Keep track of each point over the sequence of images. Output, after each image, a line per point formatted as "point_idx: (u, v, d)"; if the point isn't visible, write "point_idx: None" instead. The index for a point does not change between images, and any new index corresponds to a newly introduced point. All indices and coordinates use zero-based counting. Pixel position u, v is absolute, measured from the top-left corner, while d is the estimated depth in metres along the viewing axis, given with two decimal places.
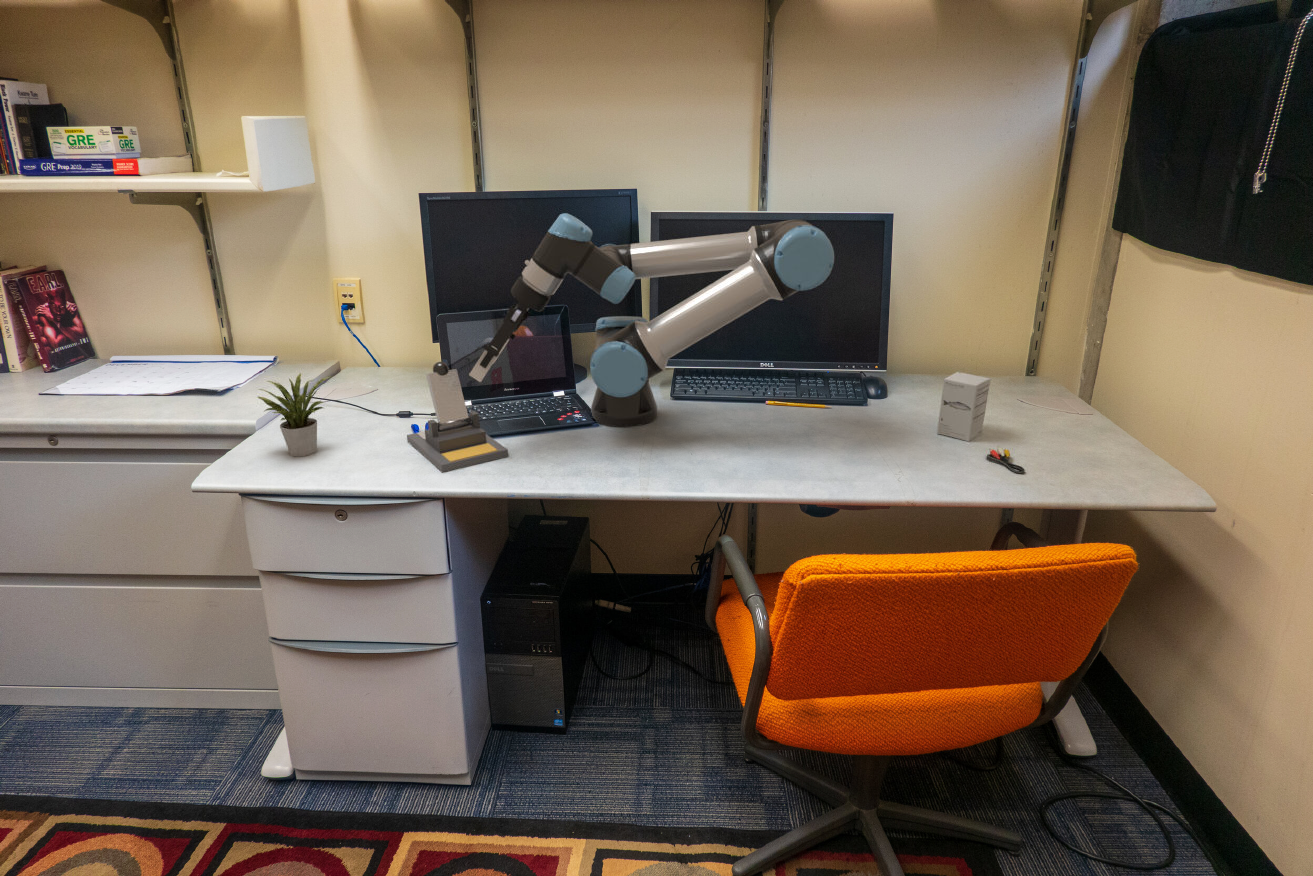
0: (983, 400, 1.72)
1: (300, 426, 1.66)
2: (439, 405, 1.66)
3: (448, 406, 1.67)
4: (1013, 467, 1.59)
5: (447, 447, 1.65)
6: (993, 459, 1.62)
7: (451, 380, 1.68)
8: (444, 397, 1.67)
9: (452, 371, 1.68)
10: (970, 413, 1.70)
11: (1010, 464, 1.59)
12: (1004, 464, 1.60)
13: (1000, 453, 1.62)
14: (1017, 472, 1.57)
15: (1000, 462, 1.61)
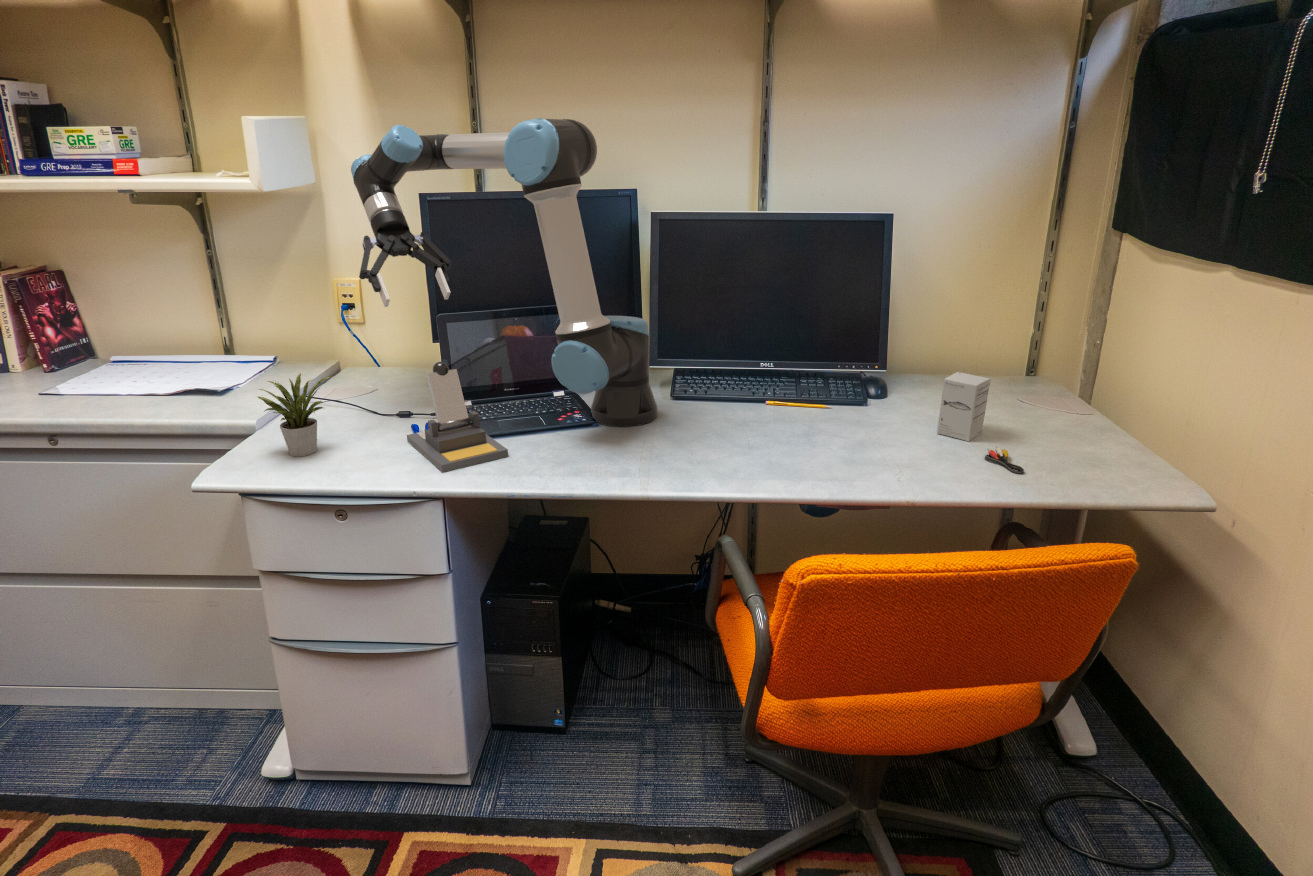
0: (983, 400, 1.72)
1: (300, 426, 1.66)
2: (439, 405, 1.66)
3: (448, 406, 1.67)
4: (1012, 467, 1.59)
5: (447, 447, 1.65)
6: (992, 459, 1.62)
7: (451, 380, 1.68)
8: (444, 397, 1.67)
9: (452, 371, 1.68)
10: (970, 413, 1.70)
11: (1009, 464, 1.59)
12: (1003, 464, 1.60)
13: (999, 453, 1.62)
14: (1016, 472, 1.57)
15: (999, 462, 1.61)
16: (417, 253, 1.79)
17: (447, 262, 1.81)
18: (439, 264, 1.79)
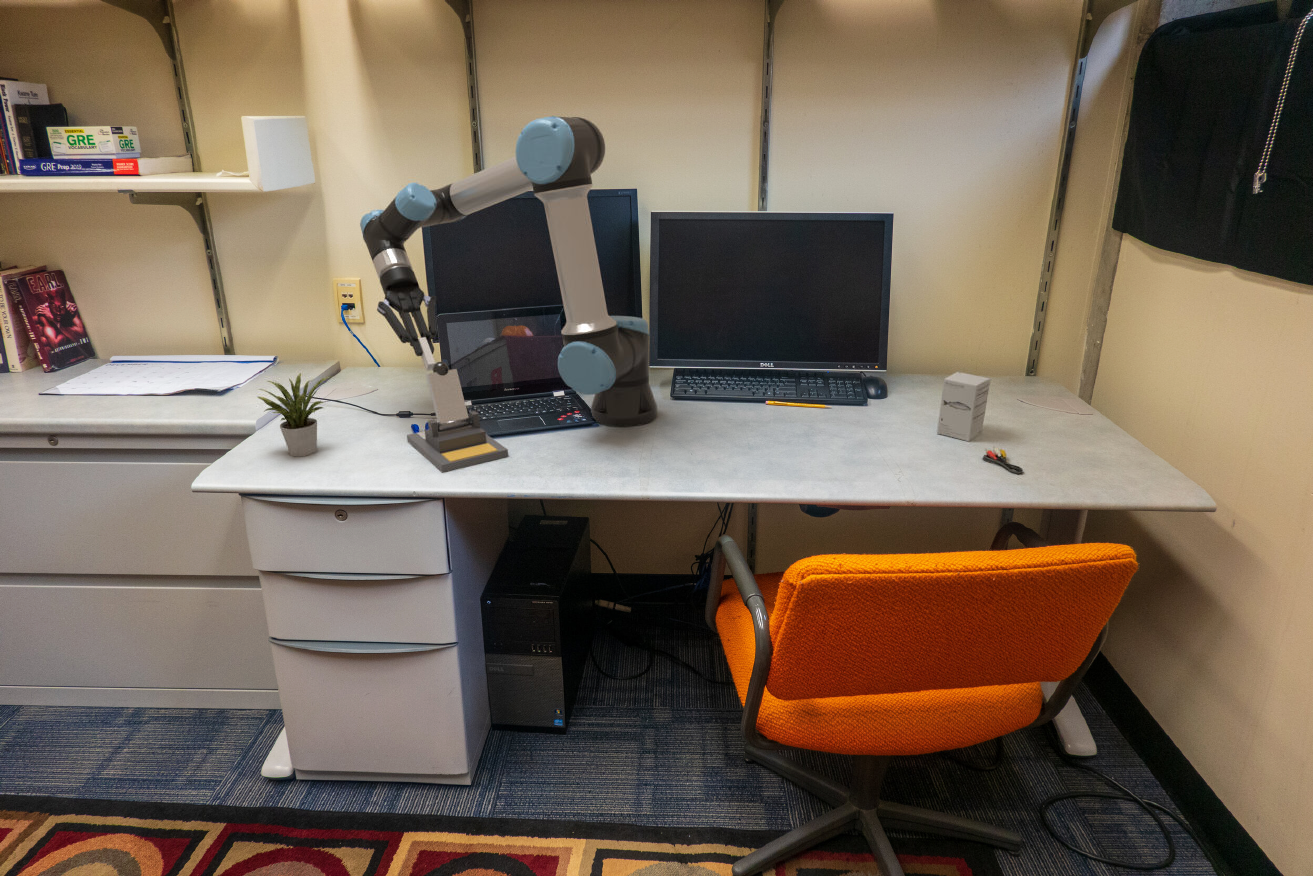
0: (983, 400, 1.72)
1: (300, 426, 1.66)
2: (439, 405, 1.66)
3: (448, 406, 1.67)
4: (1011, 467, 1.59)
5: (447, 447, 1.65)
6: (990, 460, 1.62)
7: (451, 380, 1.68)
8: (444, 397, 1.67)
9: (452, 371, 1.68)
10: (970, 413, 1.70)
11: (1007, 464, 1.59)
12: (1001, 464, 1.60)
13: (997, 453, 1.62)
14: (1015, 472, 1.57)
15: (997, 463, 1.61)
16: (415, 314, 1.75)
17: (432, 330, 1.75)
18: (425, 332, 1.74)
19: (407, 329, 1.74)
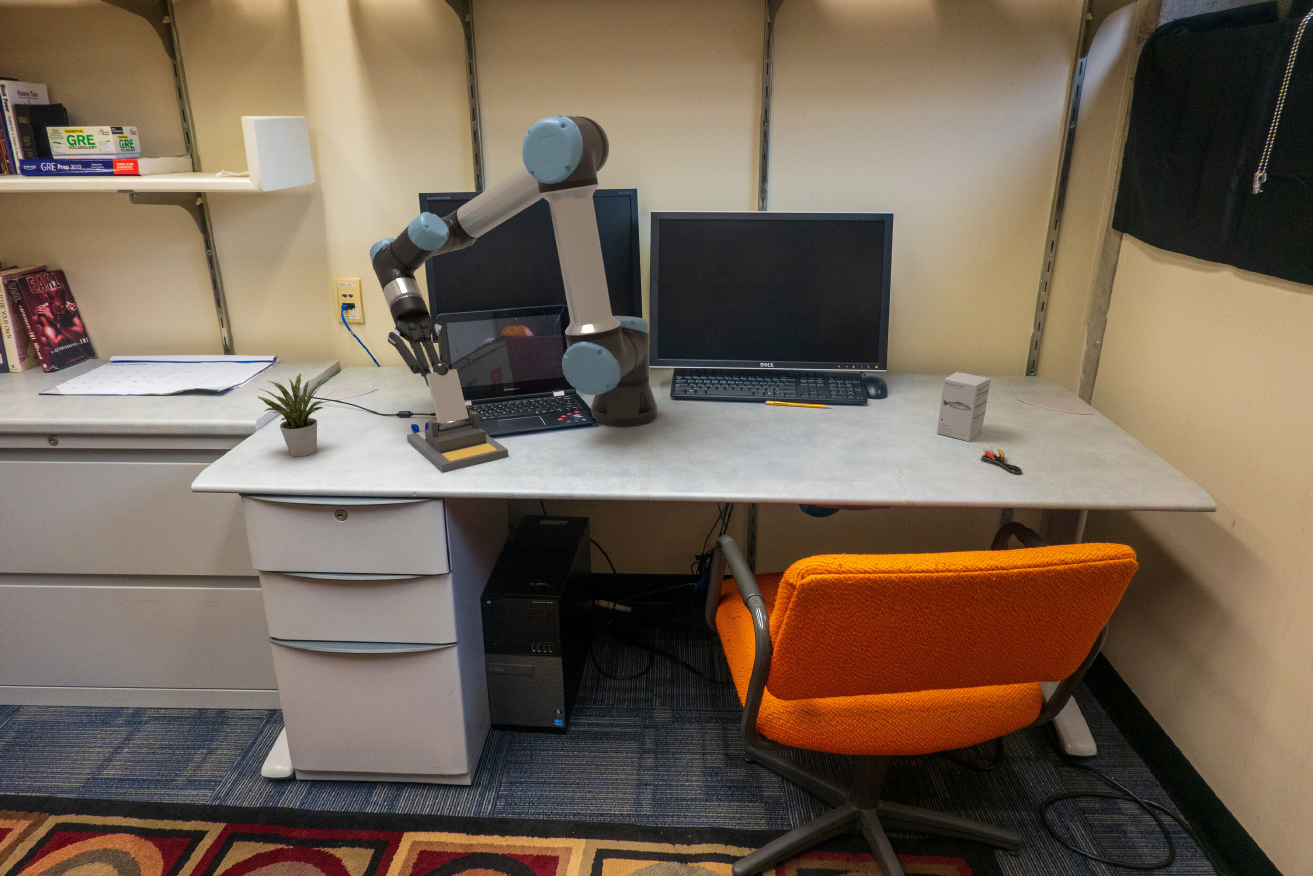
0: (983, 400, 1.72)
1: (300, 426, 1.66)
2: (439, 405, 1.66)
3: (448, 406, 1.67)
4: (1009, 467, 1.59)
5: (447, 447, 1.65)
6: (989, 460, 1.61)
7: (451, 380, 1.68)
8: (444, 397, 1.67)
9: (452, 371, 1.68)
10: (970, 413, 1.70)
11: (1006, 464, 1.59)
12: (1000, 465, 1.60)
13: (995, 454, 1.62)
14: (1015, 472, 1.56)
15: (996, 463, 1.60)
16: (426, 343, 1.74)
17: (443, 360, 1.73)
18: (436, 362, 1.72)
19: (418, 359, 1.72)
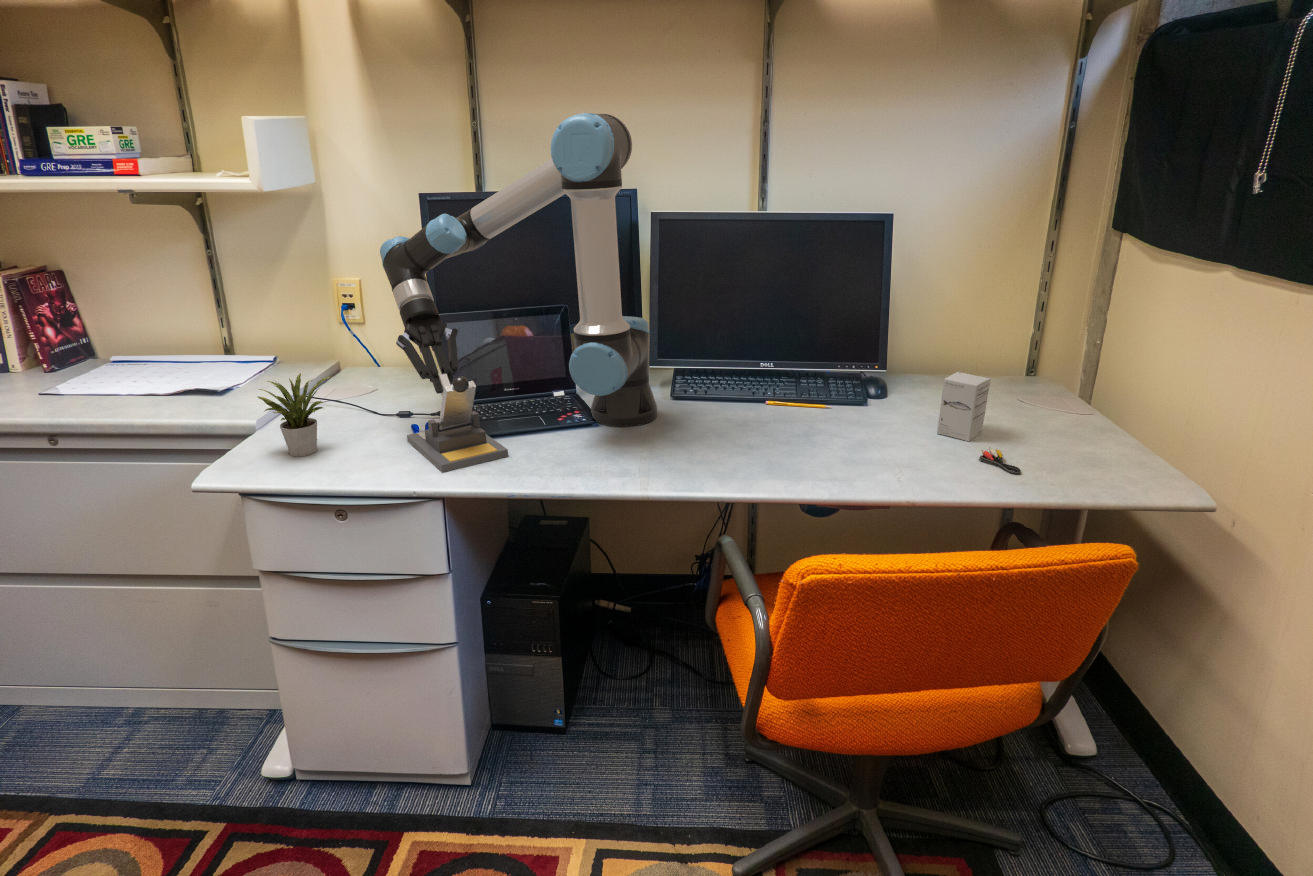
0: (983, 400, 1.72)
1: (300, 426, 1.66)
2: (446, 414, 1.64)
3: (455, 414, 1.65)
4: (1008, 468, 1.59)
5: (447, 447, 1.65)
6: (987, 460, 1.61)
7: (467, 395, 1.62)
8: (454, 408, 1.63)
9: (471, 388, 1.62)
10: (970, 413, 1.70)
11: (1005, 465, 1.59)
12: (999, 465, 1.60)
13: (993, 454, 1.62)
14: (1014, 473, 1.56)
15: (994, 463, 1.60)
16: (435, 348, 1.69)
17: (453, 366, 1.68)
18: (446, 368, 1.67)
19: (427, 364, 1.67)
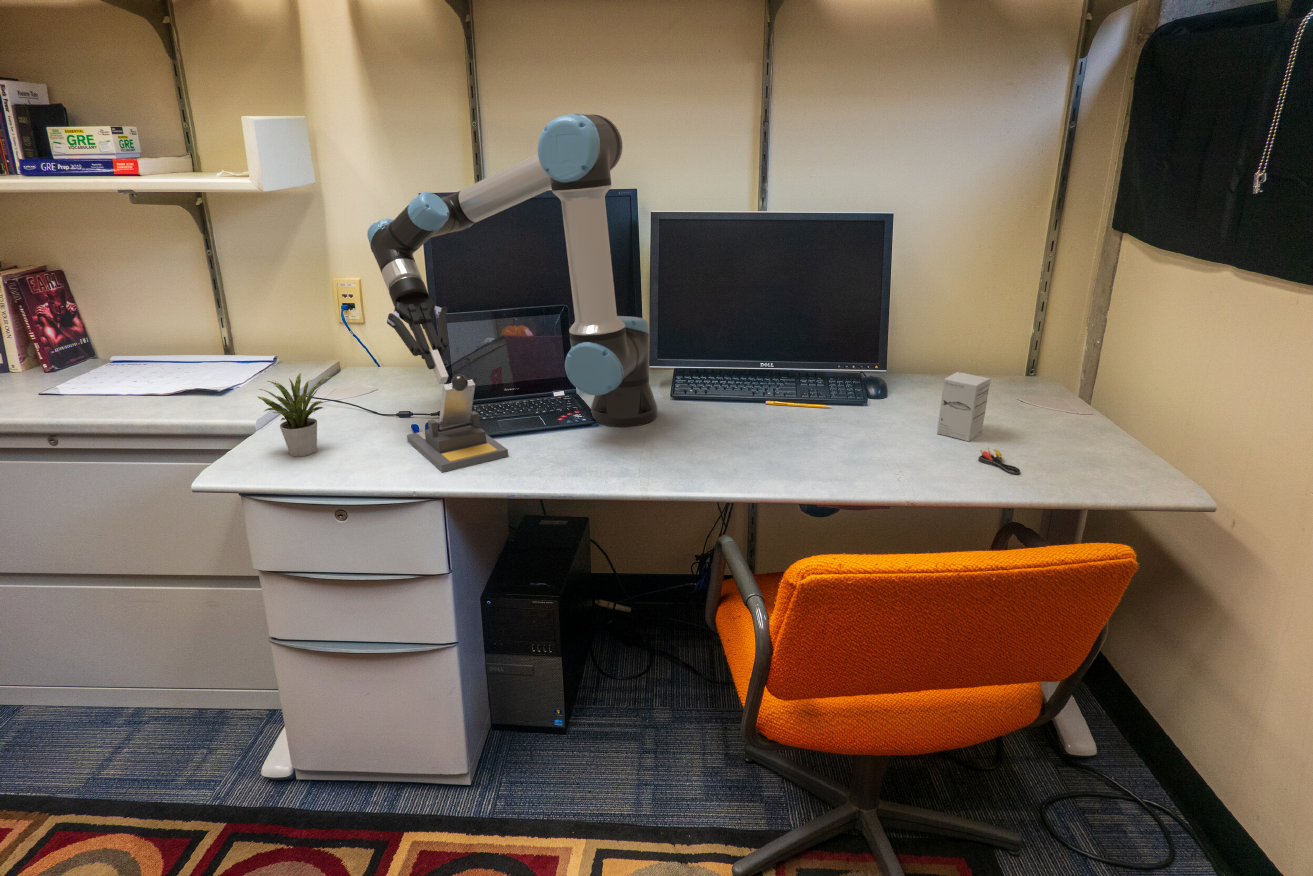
0: (983, 400, 1.72)
1: (300, 426, 1.66)
2: (446, 414, 1.64)
3: (454, 414, 1.65)
4: (1007, 468, 1.59)
5: (447, 447, 1.65)
6: (986, 461, 1.61)
7: (466, 394, 1.63)
8: (453, 407, 1.63)
9: (470, 387, 1.62)
10: (970, 413, 1.70)
11: (1004, 465, 1.59)
12: (998, 465, 1.59)
13: (992, 454, 1.62)
14: (1013, 473, 1.56)
15: (994, 463, 1.60)
16: (426, 325, 1.70)
17: (444, 342, 1.69)
18: (437, 344, 1.69)
19: (418, 341, 1.68)
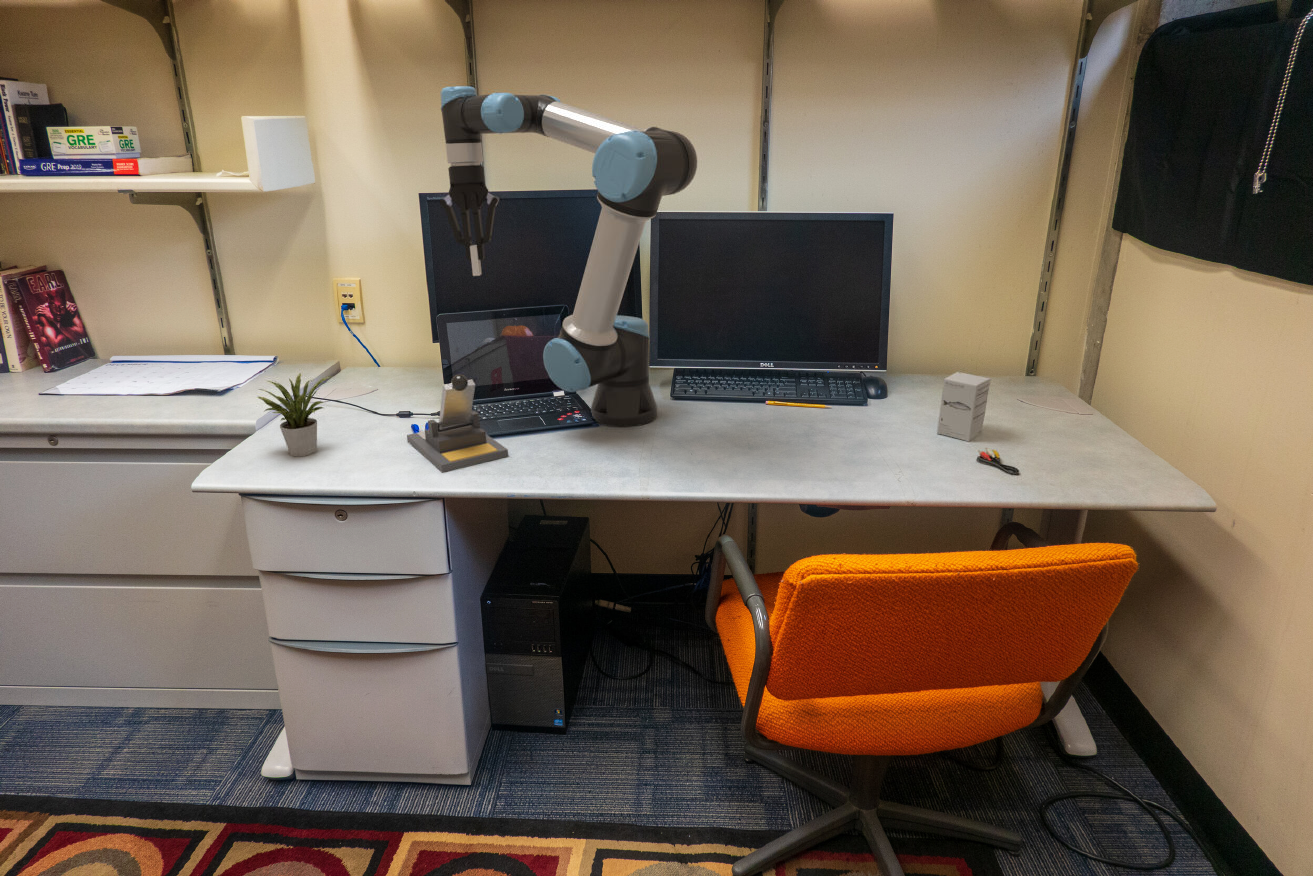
0: (983, 400, 1.72)
1: (300, 426, 1.66)
2: (446, 414, 1.64)
3: (454, 414, 1.65)
4: (1006, 468, 1.58)
5: (447, 447, 1.65)
6: (985, 461, 1.61)
7: (466, 394, 1.63)
8: (453, 407, 1.63)
9: (470, 387, 1.62)
10: (970, 413, 1.70)
11: (1003, 465, 1.59)
12: (997, 465, 1.59)
13: (990, 454, 1.62)
14: (1012, 473, 1.56)
15: (992, 464, 1.60)
16: None
17: (485, 238, 1.81)
18: (477, 240, 1.81)
19: None
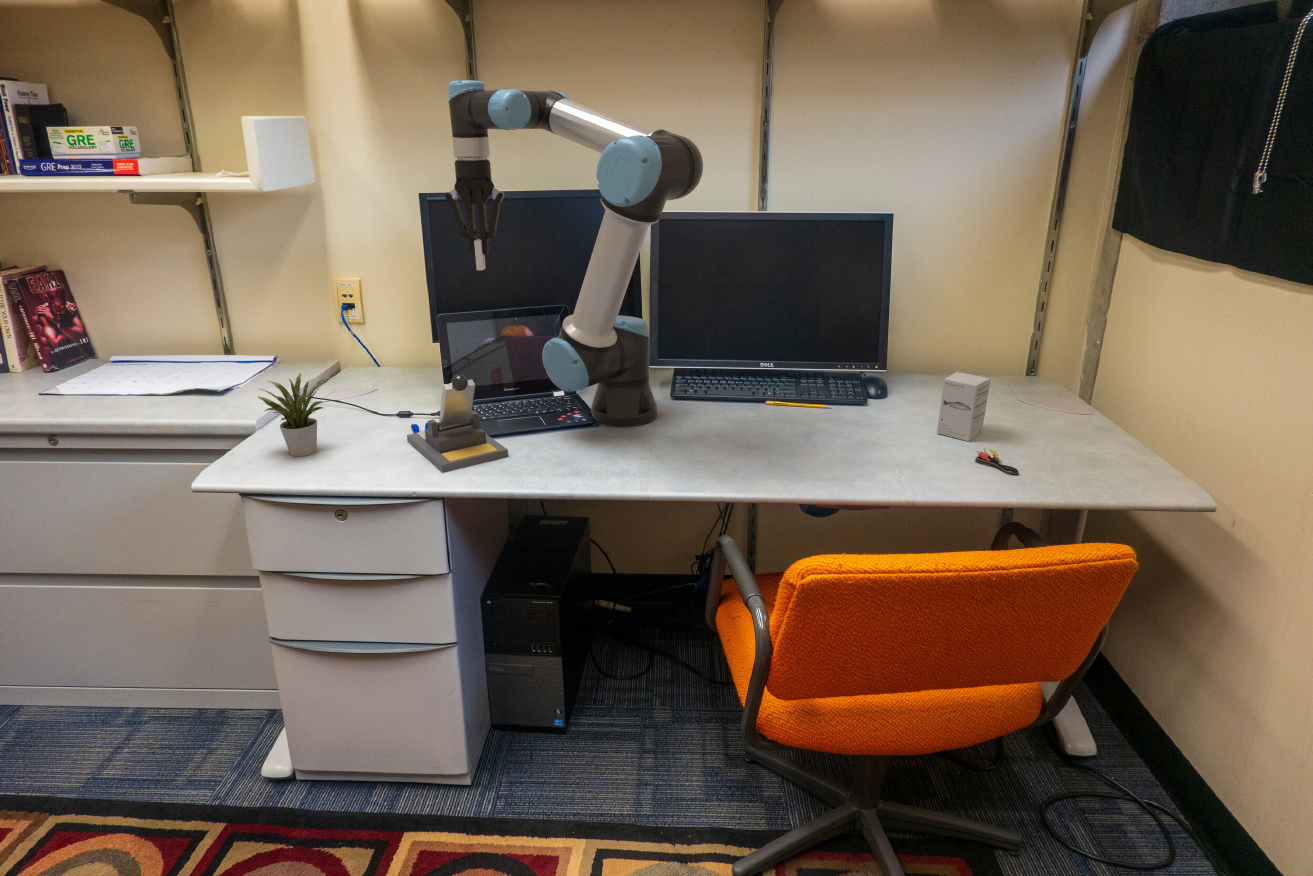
0: (983, 400, 1.72)
1: (300, 426, 1.66)
2: (446, 414, 1.64)
3: (454, 414, 1.65)
4: (1005, 468, 1.58)
5: (447, 447, 1.65)
6: (983, 461, 1.61)
7: (466, 394, 1.63)
8: (453, 407, 1.63)
9: (470, 387, 1.62)
10: (970, 413, 1.70)
11: (1002, 465, 1.59)
12: (996, 466, 1.59)
13: (989, 455, 1.62)
14: (1012, 473, 1.56)
15: (991, 464, 1.60)
16: None
17: (489, 233, 1.81)
18: (482, 234, 1.81)
19: None
